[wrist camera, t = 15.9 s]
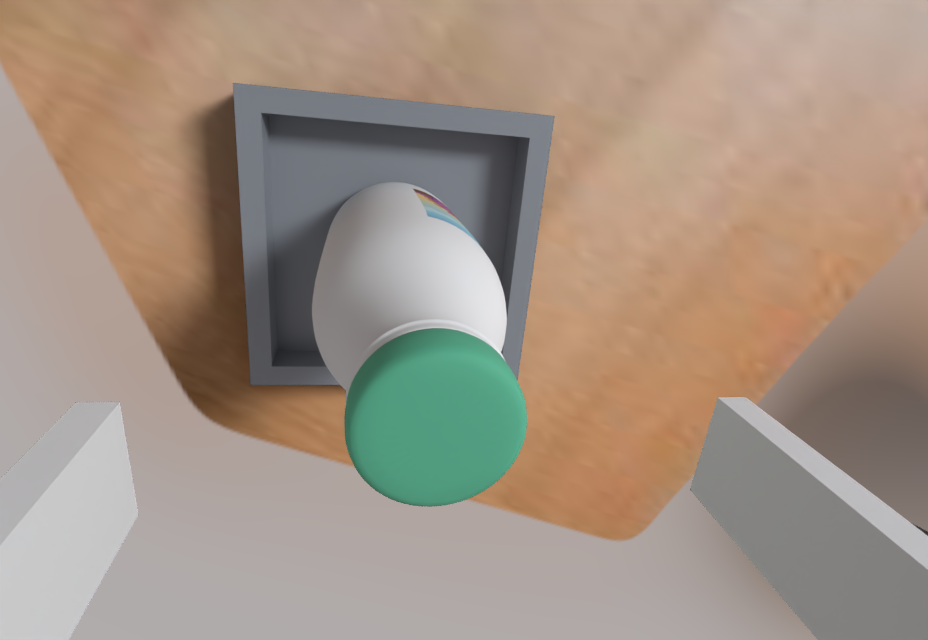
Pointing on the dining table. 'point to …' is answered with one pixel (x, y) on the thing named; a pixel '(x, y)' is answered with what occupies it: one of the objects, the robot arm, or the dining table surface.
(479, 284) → the milk bottle
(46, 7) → the dining table surface
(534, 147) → the tray
